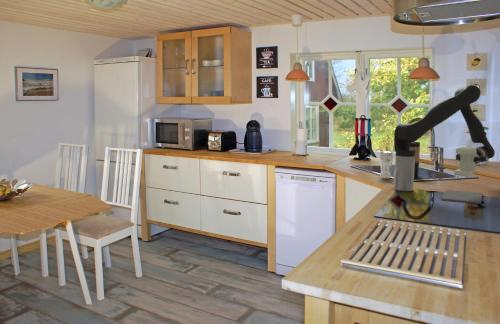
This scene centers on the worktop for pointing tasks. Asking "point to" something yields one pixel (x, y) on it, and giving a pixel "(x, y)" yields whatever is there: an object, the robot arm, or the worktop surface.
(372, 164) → the worktop surface
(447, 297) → the worktop surface
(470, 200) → the mat
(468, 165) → the tall sage green block
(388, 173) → the beer glass
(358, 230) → the worktop surface
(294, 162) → the worktop surface
